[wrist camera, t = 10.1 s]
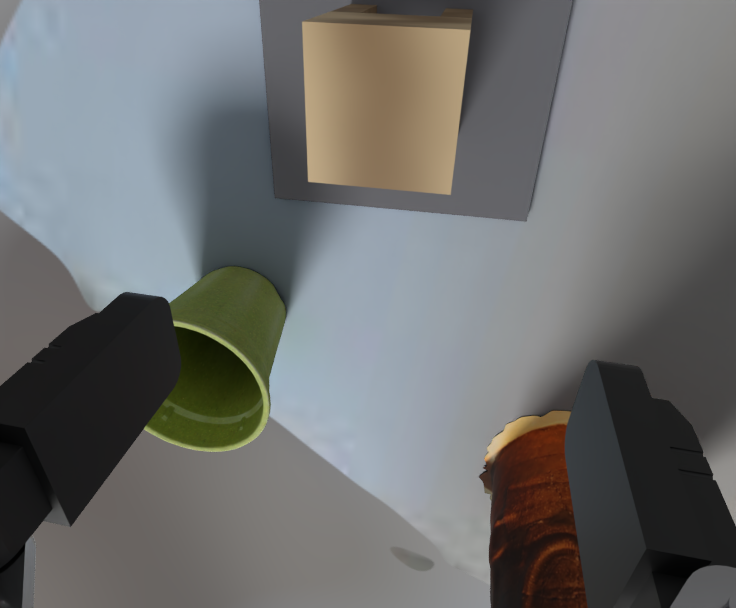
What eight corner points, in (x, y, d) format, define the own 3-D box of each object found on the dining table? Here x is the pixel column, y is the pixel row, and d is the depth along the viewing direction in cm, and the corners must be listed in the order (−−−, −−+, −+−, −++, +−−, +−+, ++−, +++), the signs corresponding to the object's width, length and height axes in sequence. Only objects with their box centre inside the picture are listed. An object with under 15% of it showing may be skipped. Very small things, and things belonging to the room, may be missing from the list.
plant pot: (185, 218, 32) (102, 292, 25) (328, 273, 33) (286, 362, 26) (169, 329, 38) (97, 416, 30) (292, 376, 38) (249, 472, 31)
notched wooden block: (473, 9, 23) (470, 29, 17) (457, 135, 26) (450, 194, 20) (351, 4, 24) (301, 21, 17) (350, 127, 27) (308, 181, 20)
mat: (594, -111, 21) (596, -112, 20) (525, 217, 28) (526, 221, 28) (254, -115, 22) (250, -116, 22) (277, 194, 30) (274, 197, 30)
